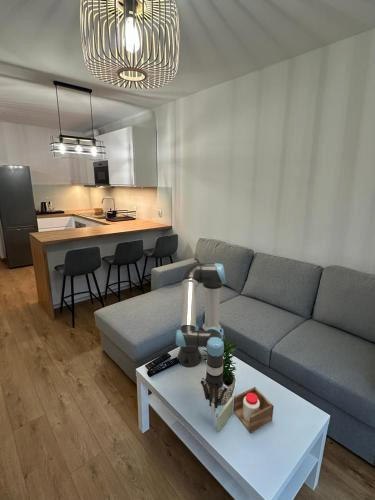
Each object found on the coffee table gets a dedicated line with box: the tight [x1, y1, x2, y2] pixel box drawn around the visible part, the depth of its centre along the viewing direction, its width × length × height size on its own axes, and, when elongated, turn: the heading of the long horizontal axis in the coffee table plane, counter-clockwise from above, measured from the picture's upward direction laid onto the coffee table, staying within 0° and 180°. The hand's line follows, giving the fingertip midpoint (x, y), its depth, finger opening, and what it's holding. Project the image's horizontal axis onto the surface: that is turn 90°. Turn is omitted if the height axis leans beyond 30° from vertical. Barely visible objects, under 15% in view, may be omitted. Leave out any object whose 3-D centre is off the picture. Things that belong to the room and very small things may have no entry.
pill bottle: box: [242, 393, 260, 422], centre depth 126 cm, size 8×8×11 cm
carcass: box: [232, 386, 275, 434], centre depth 127 cm, size 13×14×9 cm
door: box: [215, 396, 234, 432], centre depth 125 cm, size 13×2×9 cm, turn 142°
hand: (213, 411), depth 125 cm, fingers closed
